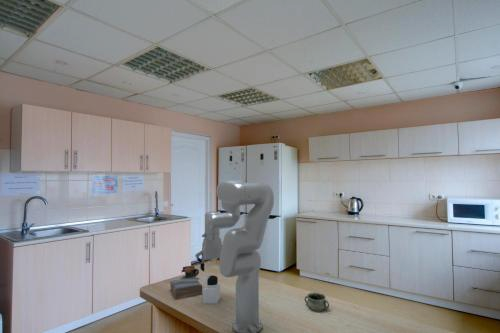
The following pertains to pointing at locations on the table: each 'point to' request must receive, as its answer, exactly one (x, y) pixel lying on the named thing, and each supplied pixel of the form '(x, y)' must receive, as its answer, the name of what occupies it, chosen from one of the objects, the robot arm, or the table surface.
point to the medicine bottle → (211, 290)
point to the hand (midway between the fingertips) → (211, 269)
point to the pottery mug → (190, 272)
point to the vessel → (316, 301)
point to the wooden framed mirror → (186, 288)
